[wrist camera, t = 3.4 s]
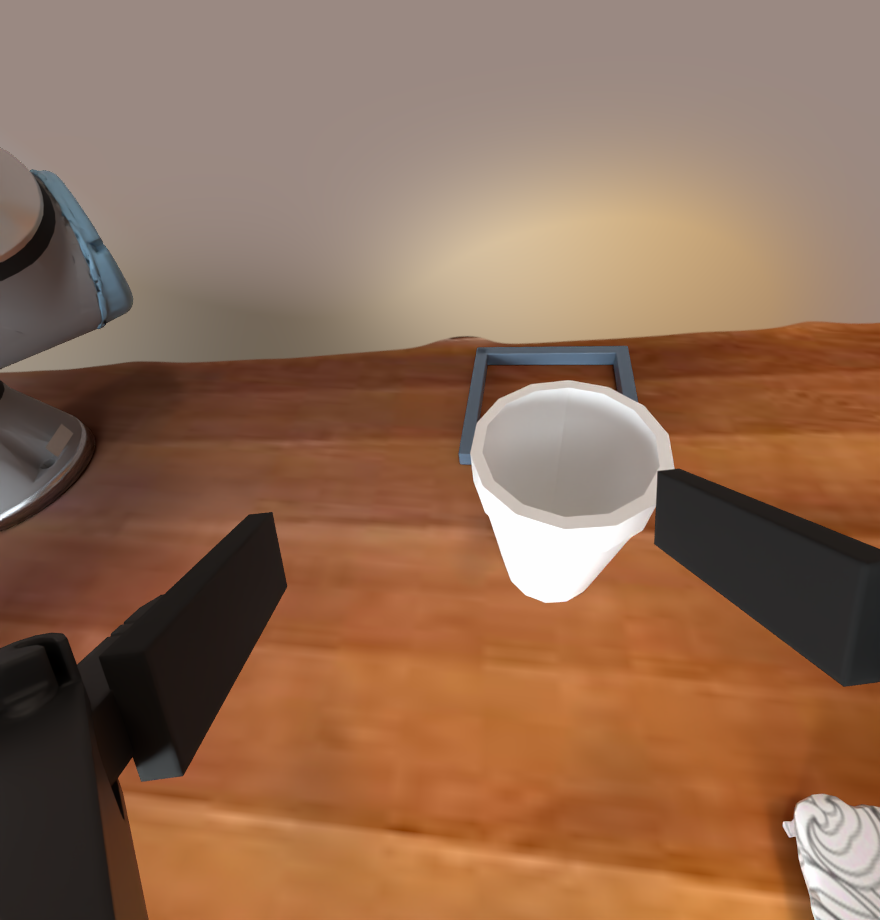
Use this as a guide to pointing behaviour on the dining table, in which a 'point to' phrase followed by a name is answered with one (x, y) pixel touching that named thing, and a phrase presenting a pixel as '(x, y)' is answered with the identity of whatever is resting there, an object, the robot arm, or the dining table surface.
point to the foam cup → (566, 481)
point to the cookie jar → (838, 856)
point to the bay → (539, 357)
